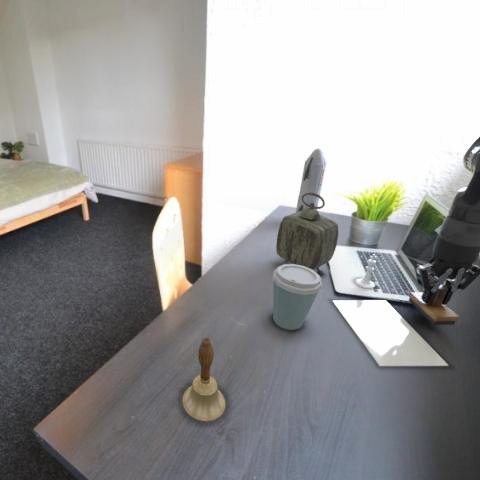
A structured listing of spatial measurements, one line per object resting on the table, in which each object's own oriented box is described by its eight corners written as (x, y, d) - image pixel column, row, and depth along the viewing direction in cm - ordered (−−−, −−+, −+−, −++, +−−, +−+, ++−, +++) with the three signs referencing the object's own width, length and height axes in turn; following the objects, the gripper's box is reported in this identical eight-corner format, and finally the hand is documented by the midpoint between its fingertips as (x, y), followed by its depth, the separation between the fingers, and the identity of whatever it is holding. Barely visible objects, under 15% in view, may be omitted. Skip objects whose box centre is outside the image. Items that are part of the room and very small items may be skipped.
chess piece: (378, 290, 93) (388, 259, 89) (360, 290, 93) (369, 259, 89) (368, 280, 98) (378, 250, 93) (351, 280, 98) (360, 250, 93)
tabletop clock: (328, 276, 100) (348, 197, 88) (310, 286, 95) (328, 204, 84) (287, 257, 111) (300, 184, 99) (269, 265, 106) (281, 190, 95)
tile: (384, 302, 88) (385, 299, 88) (447, 368, 69) (449, 365, 68) (331, 302, 89) (332, 300, 88) (378, 368, 69) (379, 365, 69)
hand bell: (226, 427, 58) (233, 361, 51) (179, 420, 60) (179, 355, 52) (226, 387, 66) (232, 324, 58) (184, 382, 67) (185, 320, 60)
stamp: (407, 300, 84) (416, 275, 81) (426, 299, 84) (436, 274, 81) (433, 325, 76) (444, 298, 72) (455, 325, 76) (467, 298, 72)
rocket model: (300, 232, 127) (315, 153, 113) (284, 226, 132) (297, 149, 118) (321, 223, 134) (338, 147, 120) (305, 218, 139) (319, 144, 126)
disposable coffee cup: (273, 304, 88) (281, 255, 82) (316, 319, 83) (329, 268, 76) (259, 327, 81) (266, 275, 74) (305, 345, 75) (318, 291, 68)
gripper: (439, 246, 68) (414, 313, 76) (511, 244, 67) (477, 312, 75) (415, 230, 74) (394, 293, 82) (480, 228, 74) (452, 292, 82)
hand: (434, 302), depth 79 cm, fingers closed on stamp, 3 cm apart
